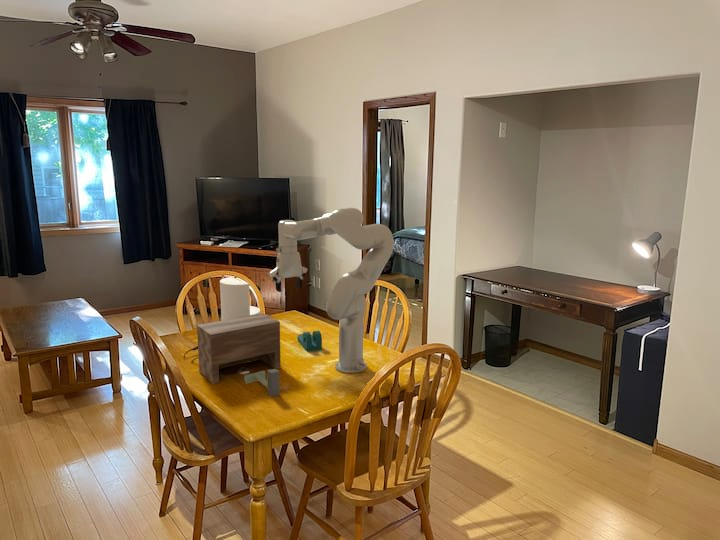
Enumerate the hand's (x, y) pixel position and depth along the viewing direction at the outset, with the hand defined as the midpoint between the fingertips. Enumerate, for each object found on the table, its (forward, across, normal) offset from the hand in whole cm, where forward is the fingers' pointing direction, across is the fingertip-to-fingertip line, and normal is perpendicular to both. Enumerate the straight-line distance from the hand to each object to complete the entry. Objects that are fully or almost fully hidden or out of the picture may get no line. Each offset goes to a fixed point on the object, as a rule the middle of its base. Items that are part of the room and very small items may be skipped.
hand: (289, 289), depth 228 cm
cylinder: (+27, -12, +24) cm, 38 cm away
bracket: (+28, +10, +3) cm, 30 cm away
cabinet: (+27, -26, -8) cm, 39 cm away
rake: (+27, -26, -29) cm, 47 cm away
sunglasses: (+27, -35, +13) cm, 47 cm away
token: (+27, -26, -11) cm, 40 cm away
